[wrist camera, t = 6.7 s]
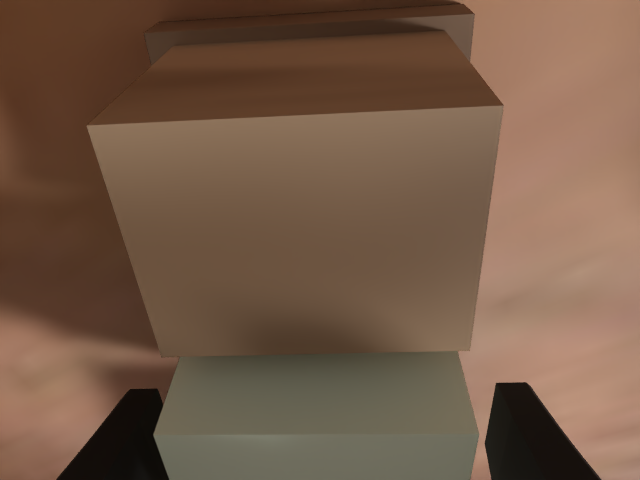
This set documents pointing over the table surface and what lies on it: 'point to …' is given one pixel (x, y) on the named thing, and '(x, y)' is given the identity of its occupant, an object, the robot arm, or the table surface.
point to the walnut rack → (305, 181)
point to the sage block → (318, 418)
